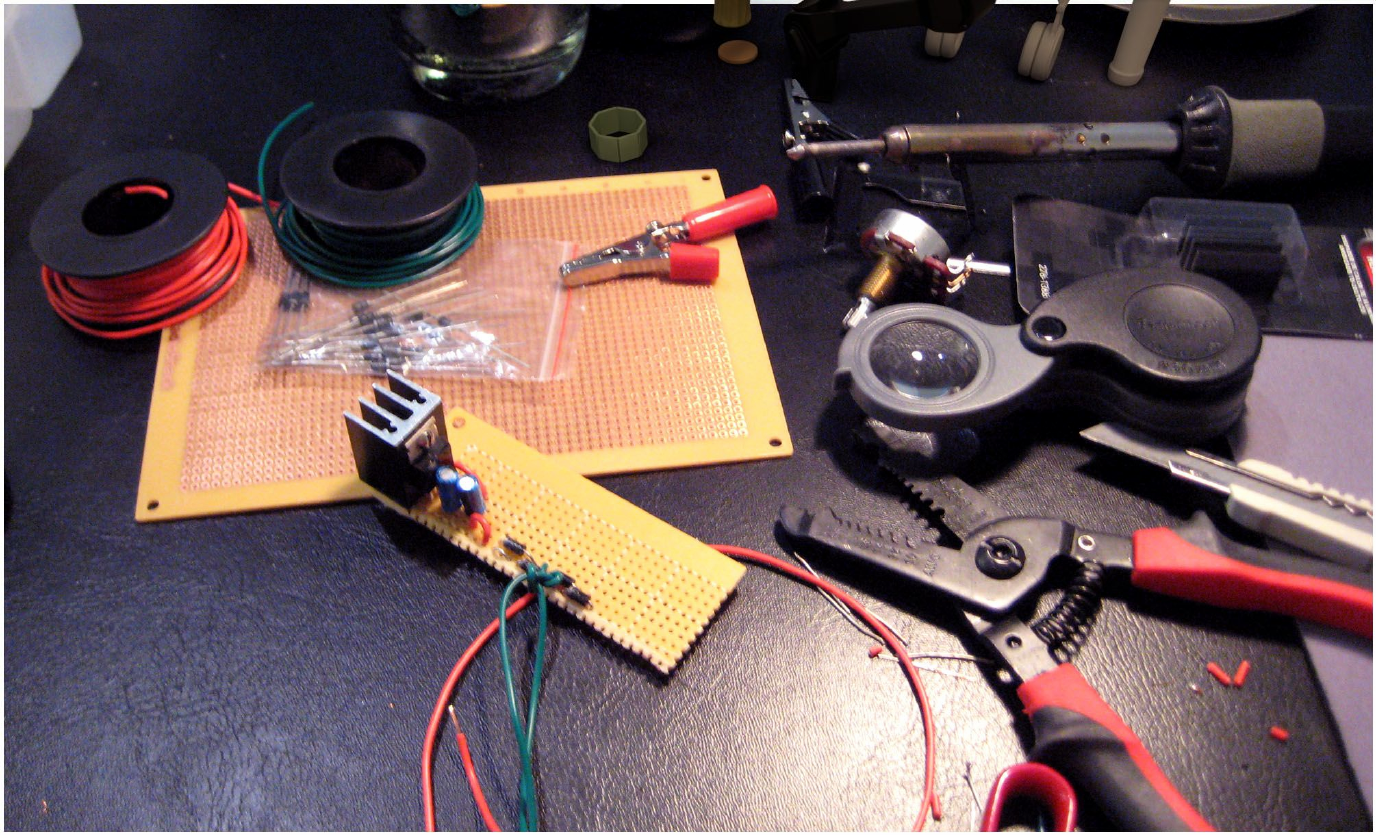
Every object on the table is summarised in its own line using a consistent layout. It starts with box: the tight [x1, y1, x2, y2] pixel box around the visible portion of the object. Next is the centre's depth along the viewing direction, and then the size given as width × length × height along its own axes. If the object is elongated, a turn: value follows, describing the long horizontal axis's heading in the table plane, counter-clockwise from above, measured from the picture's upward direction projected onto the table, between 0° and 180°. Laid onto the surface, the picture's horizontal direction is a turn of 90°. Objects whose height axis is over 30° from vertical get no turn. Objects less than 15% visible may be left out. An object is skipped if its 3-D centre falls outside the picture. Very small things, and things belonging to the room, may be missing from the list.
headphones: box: [924, 0, 1071, 82], centre depth 143 cm, size 20×8×19 cm, turn 62°
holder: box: [587, 106, 649, 163], centre depth 138 cm, size 8×8×4 cm
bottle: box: [1107, 0, 1172, 87], centre depth 137 cm, size 5×5×25 cm
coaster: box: [717, 39, 759, 65], centre depth 154 cm, size 7×7×1 cm
